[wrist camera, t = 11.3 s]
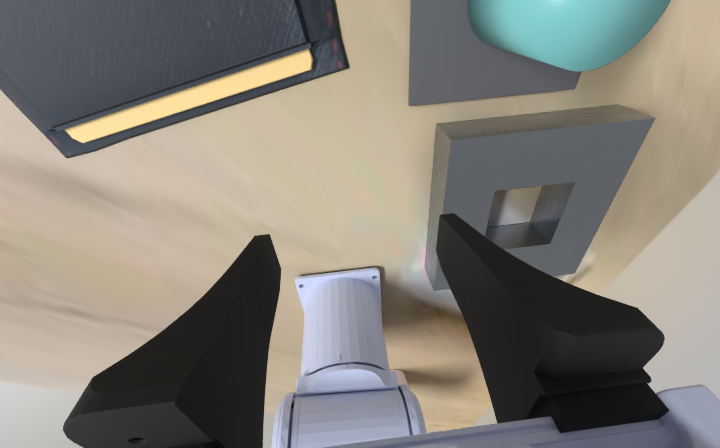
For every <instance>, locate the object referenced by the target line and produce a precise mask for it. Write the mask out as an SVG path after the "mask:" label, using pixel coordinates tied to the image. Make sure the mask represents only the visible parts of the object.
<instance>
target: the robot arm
mask: <svg viewBox="0 0 720 448" xmlns="http://www.w3.org/2000/svg"><path fill="white" fill-rule="evenodd" d="M436 253H437V256H438V260H439V263H440V266H441V269H442V272H443V274H444V276H445V278H446V280H447V282H448V285H449V287H450V289H451V291H452V293H453V295H454V297H455V299H456V301H457V304H458V306H459V308H460V310H461V312H462V314H463V316H464V319H465V321H466V324H467V326H468V329H469V332H470V335H471V338H472V341H473V343H474V346H475V349H476V353H477V356H478V359H479V362H480V365H481V368H482V371H483V374H484V378H485V381H486V384H487V388H488V391H489V394H490V398H491V401H492V405H493V408H494V412H495V416H496V419H497V423H498V424H491V425H484V426H476V427H469V428H461V429H454V430H447V431H439V432H432V433H426V428H425V423H424V418H423V414H422V411H421V407H420V405H419V402H418V400H417V397H416V396H415V394H414V393H413V392H412V391H411V390H410V389H409V388H408V386H407V385H405V384H402V385H398V382H397V377H396V372H395V371H390V369H389V363H388V357H387V352H386V346H385V340H384V334H383V329H382V309H381V288H380V272H379V269H378V268H366V269H357V270H349V271H340V272H332V273H324V274H315V275H307V276H299V277H297V278H296V279H295V284H296V287H297V290H298V294H299V297H300V300H301V304H302V307H303V310H304V314H305V320H304V335H303V350H302V365H301V377H298V378H297V385H296V393H295V392H290V393H287V394H286V395H285V398H284V399H283V400H282V401H281V402H280V403H279V405H278V408H277V412H276V417H275V423H274V430H273V439H272V448H720V400H719V399H718V398H717V397H716V396H715V395H714V394H713V393H712V392H711V391H710V390H709V389H708V388H707V387H706V386H704V385H694V386H688V387H679V388H672V389H667V390H663V391H661V392H658V393H656V394H655V392H654V391H653V390H652V389H651V388H650V387H649V385H648V384H647V383H649V382H651V377H650V376H649V375H648V374H647V373H646V372H645V370H644V369H643V367H644V366H645V365H646V364H647V362H648V361H649V360H651V359H652V358H653V357H654V355H655V354H656V353H657V352H658V351H659V350H660V349H661V347H662V346H663V342H664V338H665V337H664V335H663V333H662V332H661V331H660V330H659V329H658V328H657V327H656V326H655V325H654V324H653V323H652V322H651V321H650V320H649V319H648V318H647V317H646V316H645V315H644V314H643V313H642V312H641V311H640V310H639V309H638V308H635V307H633V306H630V305H626V304H623V303H620V302H617V301H614V300H611V299H608V298H605V297H602V296H599V295H596V294H594V293H591V292H589V291H586V290H583V289H581V288H578V287H576V286H573V285H571V284H569V283H566V282H564V281H562V280H559V279H557V278H555V277H553V276H551V275H549V274H546V273H544V272H542V271H540V270H538V269H536V268H534V267H533V266H531V265H529V264H527V263H525V262H524V261H522V260H520V259H518V258H517V257H515V256H513V255H512V254H510V253H508V252H507V251H505V250H504V249H502V248H501V247H499V246H498V245H496V244H495V243H493V242H492V241H490V240H489V239H488V238H486V237H485V236H483V235H482V234H481V233H479V232H478V231H477V230H475V229H474V228H473V227H472V226H470V225H469V224H468V223H466V222H465V221H464V220H462V219H461V218H460V217H459V216H457V215H456V214H454V213H450V214H441V215H440V216H439V225H438V235H437V244H436ZM280 280H281V267H280V264H279V261H278V258H277V255H276V252H275V249H274V246H273V243H272V240H271V237H270V234H267V235H258V236H254V238H253V239H252V240H251V241H250V243H249V244H248V245H247V246H246V248H245V249H244V250H243V251H242V253H241V254H240V255H239V256H238V258H237V259H236V260H235V261H234V263H233V264H232V265H231V266H230V267H229V269H228V270H227V271H226V272H225V273H224V274H223V276H222V277H221V278H220V279H219V280H218V281H217V282H216V283H215V284H214V285H213V287H212V288H211V289H210V290H209V291H208V292H207V293H206V294H205V295H204V296H203V297H202V298H201V299H200V300H198V301H197V302H196V303H195V304H194V305H193V306H192V307H191V308H190V309H189V310H188V311H186V312H185V313H184V314H183V315H182V316H180V317H179V318H178V319H177V320H175V321H174V322H173V323H172V324H171V325H169V326H168V327H167V328H166V329H164V330H163V331H162V332H160V333H159V334H158V335H156V336H155V337H154V338H152V339H151V340H150V341H148V342H147V343H145V344H144V345H142V346H141V347H140V348H138V349H137V350H135V351H134V352H132V353H131V354H129V355H128V356H126V357H125V358H123V359H122V360H120V361H118V362H117V363H115V364H114V365H112V366H110V367H109V368H107V369H106V370H104V371H102V372H101V373H99V374H98V375H96V376H94V377H93V378H92V380H91V381H90V383H89V384H88V386H87V387H86V389H85V391H84V392H83V394H82V396H81V398H80V399H79V401H78V402H77V404H76V405H75V407H74V409H73V410H72V412H71V413H70V415H69V417H68V418H67V420H66V421H65V423H64V426H63V431H64V433H65V435H66V436H67V438H69V439H70V440H71V441H73V442H74V443H76V444H78V445H80V446H82V447H84V448H262V447H263V419H264V400H265V385H266V372H267V361H268V350H269V343H270V337H271V332H272V327H273V322H274V317H275V312H276V307H277V302H278V297H279V292H280ZM301 284H302V285H301Z"/></svg>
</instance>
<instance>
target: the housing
mask: <svg viewBox="0 0 720 448" xmlns="http://www.w3.org/2000/svg"><path fill="white" fill-rule="evenodd" d="M654 120H655V118H654V117H651V116H648V115H645V114H643V113H640V112H637V111H634V110H631V109H629V108H626V107H623V106H620V105H610V106H601V107H591V108H582V109H572V110H563V111H553V112H544V113H535V114H525V115H516V116H506V117H497V118H487V119H478V120H468V121H459V122H449V123H440V124H436V136H435V148H434V160H433V173H432V185H431V197H430V210H429V222H428V234H427V247H426V259H425V269H426V271H427V274H428V277H429V279H430V282H431V285H432V287H433V290H434V291H435V290H444V289H450V287H449V285H448V282H447V280H446V278H445V276H444V274H443V272H442V269H441V266H440V263H439V260H438V256H437V253H436V244H437V235H438V225H439V216H440V215H441V214H450V213H454V214H456V215H457V216H459V217H460V218H461V219H462V220H464V221H465V222H466V223H468V224H469V225H470V226H472V227H473V228H474V229H475V230H477V231H478V232H479V233H481V234H482V235H483V236H485V237H486V238H488V239H489V240H490V241H492V242H493V243H495V244H496V245H498V246H499V247H501V248H502V249H504V250H505V251H507V252H508V253H510V254H512V255H513V256H515V257H517V258H518V259H520V260H522V261H524V262H525V263H527V264H529V265H531V266H533V267H534V268H536V269H538V270H540V271H542V272H544V273H546V274H549V275H551V276H558V275H566V274H574V273H575V272H576V270H577V268H578V266H579V264H580V263H581V261H582V259H583V257H584V255H585V253H586V251H587V249H588V247H589V245H590V243H591V241H592V239H593V237H594V235H595V234H596V232H597V230H598V228H599V226H600V224H601V222H602V220H603V218H604V216H605V214H606V212H607V210H608V208H609V207H610V205H611V203H612V201H613V199H614V197H615V195H616V193H617V191H618V189H619V187H620V185H621V183H622V181H623V179H624V178H625V176H626V174H627V172H628V170H629V168H630V166H631V164H632V162H633V160H634V158H635V156H636V154H637V152H638V151H639V149H640V147H641V145H642V143H643V141H644V139H645V137H646V135H647V133H648V131H649V129H650V127H651V125H652V123H653V122H654ZM535 186H542V189H541V192H540V195H539V198H538V201H537V204H536V207H535V210H534V213H533V216H532V219H531V222H529V223H521V224H512V225H503V226H495V227H487V224H488V220H489V215H490V211H491V207H492V203H493V198H494V194H495V191H500V190H509V189H518V188H527V187H535Z"/></svg>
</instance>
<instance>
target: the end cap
mask: <svg viewBox="0 0 720 448" xmlns="http://www.w3.org/2000/svg"><path fill="white" fill-rule="evenodd" d="M670 1H671V0H468V17H469V22H470V25H471V27H472V30H473V31H474V33H475V35H476V36H477V37H478V38H479V39H480V40H481V41H482V42H484V43H486V44H488V45H491V46H494V47H497V48H500V49H503V50H506V51H510V52H513V53H516V54H519V55H522V56H525V57H528V58H532V59H535V60H538V61H541V62H544V63H547V64H550V65H554V66H557V67H560V68H563V69H566V70H570V71H588V70H593V69H596V68H600V67H602V66H604V65H607V64H609V63H611V62H612V61H614V60H616V59H618V58H619V57H621V56H622V55H624V54H625V53H626V52H628V51H629V50H630V49H631V48H633V47H634V46H635V45H636V44H637V43H638V42H639V41H640V40H641V39H642V38H643V37H644V36H645V35H646V34H647V33H648V32H649V31H650V30H651V28H652V27H653V26H654V25H655V24H656V22H657V21H658V20H659V18H660V17H661V15H662V14H663V13H664V11H665V9H666V8H667V6H668V5H669V3H670Z"/></svg>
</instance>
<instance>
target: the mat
mask: <svg viewBox="0 0 720 448" xmlns="http://www.w3.org/2000/svg"><path fill="white" fill-rule="evenodd" d="M579 73H580V71H570V70H566V69H563V68H560V67H557V66H554V65H550V64H547V63H544V62H541V61H538V60H535V59H532V58H528V57H525V56H522V55H519V54H516V53H513V52H510V51H506V50H503V49H500V48H497V47H494V46H491V45H488V44H486V43H484V42H482V41H481V40H480V39H479V38H478V37H477V36H476V35H475V33H474V31H473V30H472V27H471V25H470V22H469V17H468V0H411V18H410V61H409V103H408V104H409V106H416V105H425V104H435V103H445V102H454V101H464V100H474V99H483V98H493V97H503V96H512V95H522V94H532V93H541V92H551V91H561V90H570V89H574V88H575V85H576V82H577V79H578V76H579Z"/></svg>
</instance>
